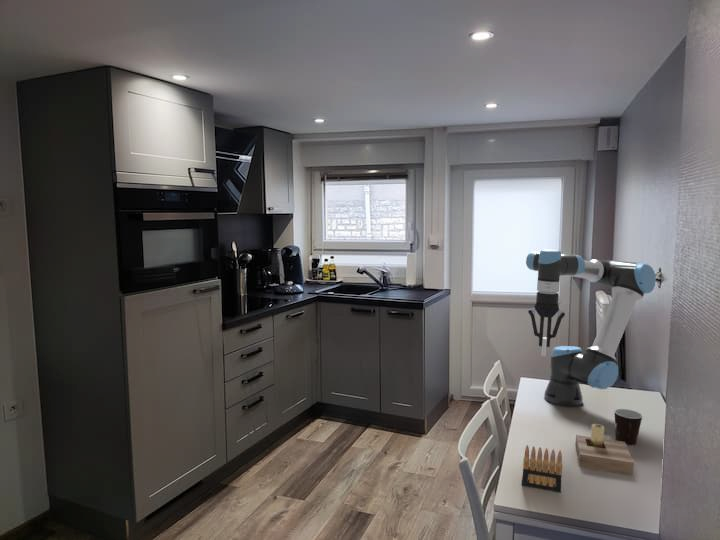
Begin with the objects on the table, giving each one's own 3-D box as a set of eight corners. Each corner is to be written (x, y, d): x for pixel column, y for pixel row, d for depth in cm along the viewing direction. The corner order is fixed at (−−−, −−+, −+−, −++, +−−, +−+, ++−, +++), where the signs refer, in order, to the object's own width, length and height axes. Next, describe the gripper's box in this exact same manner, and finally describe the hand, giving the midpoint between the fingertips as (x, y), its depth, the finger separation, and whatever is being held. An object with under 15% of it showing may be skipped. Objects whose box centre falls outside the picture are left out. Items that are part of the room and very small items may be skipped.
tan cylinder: (588, 451, 170) (591, 422, 169) (601, 453, 169) (603, 424, 167) (590, 456, 166) (592, 427, 165) (602, 458, 165) (605, 429, 164)
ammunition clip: (521, 485, 148) (523, 445, 146) (521, 482, 149) (524, 443, 148) (561, 492, 144) (563, 452, 143) (560, 489, 146) (563, 449, 145)
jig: (575, 446, 174) (576, 434, 173) (624, 453, 169) (625, 442, 169) (579, 466, 160) (580, 454, 159) (632, 475, 155) (633, 462, 155)
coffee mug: (617, 433, 185) (619, 407, 184) (643, 441, 179) (645, 414, 178) (605, 443, 177) (607, 415, 175) (632, 451, 170) (634, 423, 169)
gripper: (528, 292, 185) (524, 355, 188) (567, 295, 181) (562, 359, 184) (529, 289, 192) (525, 350, 195) (566, 292, 188) (561, 354, 191)
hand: (543, 355), depth 189 cm, fingers closed
